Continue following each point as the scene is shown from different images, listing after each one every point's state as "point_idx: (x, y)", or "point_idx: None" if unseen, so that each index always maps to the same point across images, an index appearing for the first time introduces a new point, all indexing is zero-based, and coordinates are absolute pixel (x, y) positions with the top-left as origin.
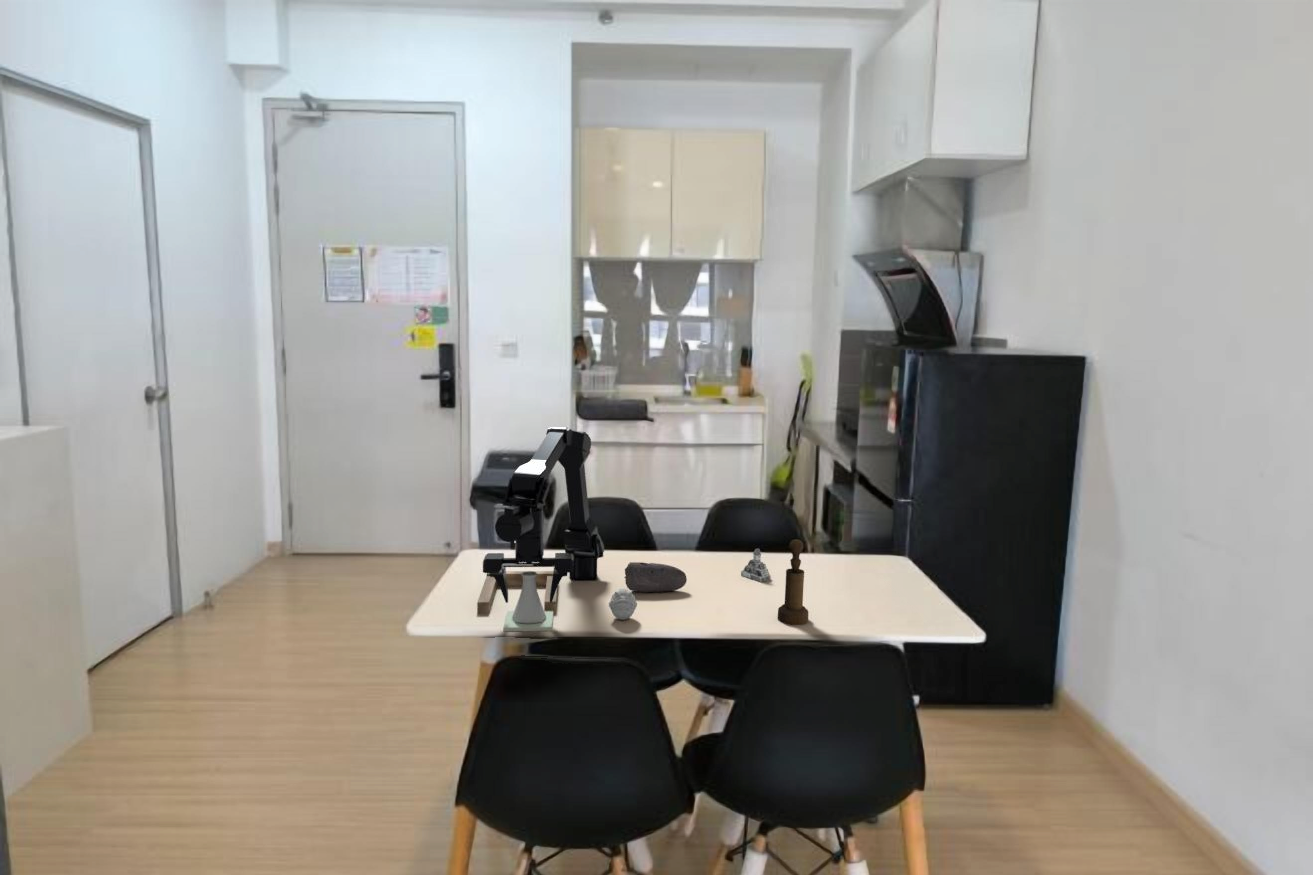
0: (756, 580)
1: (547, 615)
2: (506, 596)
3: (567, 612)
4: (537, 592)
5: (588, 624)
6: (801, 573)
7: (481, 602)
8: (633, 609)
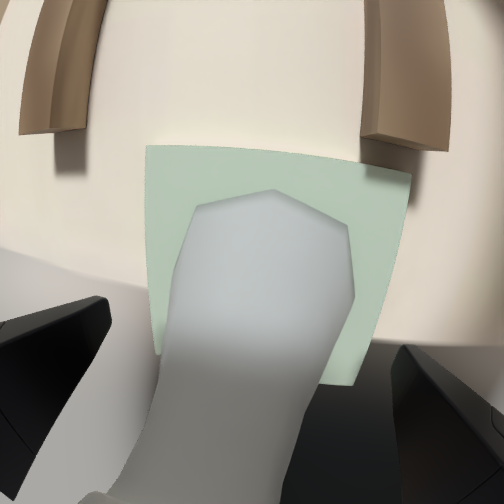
0: None
1: (369, 248)
2: (85, 364)
3: (468, 164)
4: (309, 402)
5: (489, 325)
6: None
7: (29, 132)
8: None
